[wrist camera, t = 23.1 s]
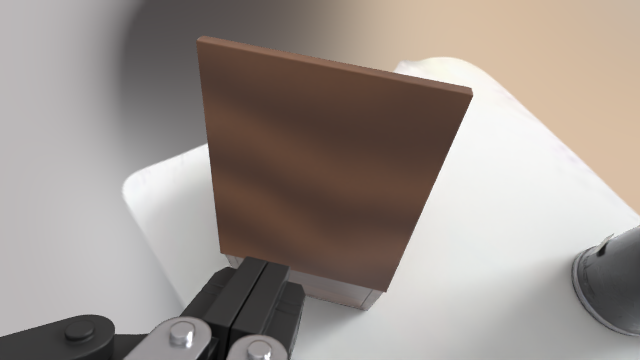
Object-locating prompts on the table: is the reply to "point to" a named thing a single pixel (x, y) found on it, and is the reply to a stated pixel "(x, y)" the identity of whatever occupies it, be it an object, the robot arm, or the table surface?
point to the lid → (321, 158)
